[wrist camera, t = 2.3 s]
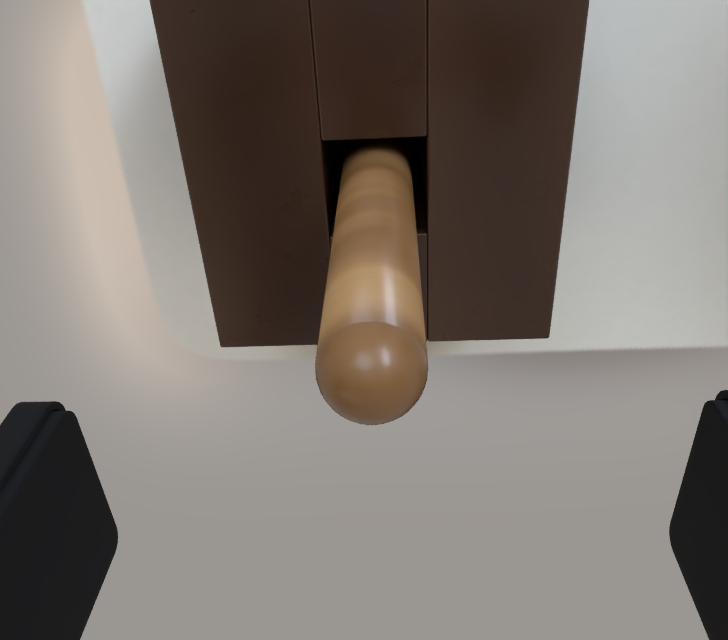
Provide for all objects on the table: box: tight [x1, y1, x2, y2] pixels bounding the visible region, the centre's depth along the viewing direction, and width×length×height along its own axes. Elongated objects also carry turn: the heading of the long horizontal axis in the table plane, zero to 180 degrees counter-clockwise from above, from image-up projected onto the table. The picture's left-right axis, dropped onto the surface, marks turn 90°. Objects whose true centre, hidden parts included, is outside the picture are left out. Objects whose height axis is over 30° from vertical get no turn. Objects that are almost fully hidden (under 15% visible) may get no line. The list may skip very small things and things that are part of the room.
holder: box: [150, 0, 589, 347], centre depth 22 cm, size 10×10×7 cm
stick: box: [315, 137, 428, 425], centre depth 18 cm, size 2×2×16 cm
